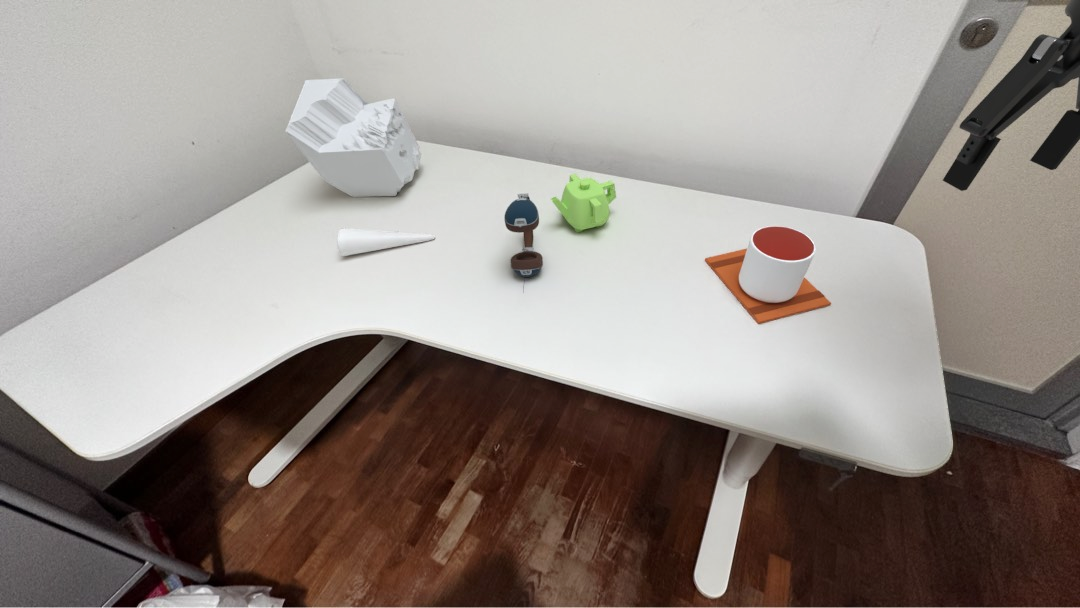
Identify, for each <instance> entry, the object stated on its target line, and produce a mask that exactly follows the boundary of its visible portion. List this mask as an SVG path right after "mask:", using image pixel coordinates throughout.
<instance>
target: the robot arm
mask: <svg viewBox="0 0 1080 608" xmlns="http://www.w3.org/2000/svg"><path fill="white" fill-rule="evenodd" d="M1064 13H1065V15H1066V16H1067V17H1068V18H1069V19H1070V24H1069V25H1068V26H1067V28H1066V29H1065V30H1064V32H1062V33H1061V35H1060V36H1059V37H1057V36H1051V35H1048V34H1044V33H1042V34H1040V35H1038V36H1037V37H1035V39H1033V41H1032V42H1031V44H1030V46H1029V47H1028V48H1027V50H1026V51H1025V53H1023V55H1022V57H1021V58H1020V60H1018V61H1017V63H1016V64H1015V65H1014V66H1013V67H1012V68H1011V69H1010V70H1009V71H1008V72H1007V73H1006V74H1005V75H1004V76H1003V78H1001V80H1000V81H999V82H997V84H996V85H995V86H994V87H993V88H992V89H991V90H990V91H989V92H988V93H987V94H986V96H984V98H983V99H982V100H981V101H980V102H979V103H978V104H977V105H976V106H975V107H974V108H973V110H972V111H971V112H970V113H969V114H968V115H967V116H966V117H965V118H964V119H963V120H962V122H961V123H960V124H959V129H961V130H963V131H965V132H967V133H969V136H968V138H967V139H966V141H965V143H964V144H963V145H962V148H961V149H960V151H959V152H958V154H957V156H956V158H955V159H954V161H953V163H952V164H951V165H950V167H949V169H948V171H947V172H946V173H945V176H944V177H943V179H942V182H944V183H946V184H948V185H950V186H951V187H953V188H955V189H957V190H959V191H961V192H963V191H967V190H968V188H969V187H970V186H971V184H972V183H973V181H974V180H975V178H976V177H977V175H978V174H979V173H980V171H981V169H982V168H983V167H984V166H985V163H987V161H988V159H989V157H990V156H991V155H992V153H993V152H994V150H995V149H996V147H997V146H998V144H999V143H1000V141H1001V140H1002V138H1000V137H998V136H999V135H1000V134H1002V132H1004V131H1005V130H1006V129H1007V128H1008V127H1010V126H1011V125H1012V124H1014V122H1016V121H1017V120H1018V119H1019V118H1021V117H1022V116H1023V115H1024V114H1025V113H1027V112H1028V111H1029V110H1030V109H1031V108H1032V107H1034V106H1035V105H1036V104H1038V103H1039V102H1040V101H1041V100H1042V99H1043V98H1044V97H1046V96H1047V95H1048V94H1049V93H1051V91H1053V90H1054V89H1059V88H1062V87H1065V86H1066V85H1067V84H1069V83H1070V82H1071V81H1072V80H1076V79H1078V83H1077V92H1076V102H1075V109H1076V110H1074V109H1067V110H1066V112H1065V113H1064V114H1063V115H1062V116H1061V118H1060V119H1059V121H1058V122H1057V123H1056V125H1055V126H1054V128H1053V129H1052V130H1051V132H1049V134H1048V135H1047V136H1046V138H1045V140H1043V142H1042V143H1041V144H1040V146H1039V147H1038V148H1037V150H1036V151H1035V153H1034V154H1033V156H1032V157H1031V158H1030V159H1029V161H1030V162H1032V163H1034V164H1036V165H1039V166H1041V167H1043V168H1045V169H1048V170H1050V171H1053V170H1057V169H1058V167H1059V166H1060V165H1061V164H1062V163H1063V162H1064V160H1065V159H1066V157H1068V155H1069V153H1071V151H1072V150H1073V149H1074V148H1075V146H1076V145H1077V144H1078V143H1079V141H1080V0H1069V2H1068V3H1067V5H1066V6H1065V8H1064Z"/></svg>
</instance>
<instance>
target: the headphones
mask: <svg viewBox="0 0 1080 608" xmlns="http://www.w3.org/2000/svg"><path fill="white" fill-rule="evenodd" d="M503 216H504V224H505V227H506V229H507V230H508V231H510V232H512V233H519V234H521V233H523V234H522V235H523V244H524V245H523V248H522V251H520V252H517V253H515V254H514V255H512V256H511V257H510V267H511V269H512V270H513V272H514V273H515V274H517V275H518V276H520V277H523V278H530V277H533V276H535V275H537V273H539V272H540V270H541V269H542V268H543V265H544V261H543V259H544V258H543V255H542V254H541V253H540V252H537V251H535V250H534V247H533V246H534V230H536V229H537V228H538V226H539V225H540V215H539V209H538V208H537V206H536V204H535V203H534V202H533V201H532V200H531V199H530V196H529V193H528V192H527V193H526V192H525V193H518V194H517V199H515V200H513V201H512V202H510V204H509V205H508V206H507V208H506V210H505V213H504V215H503ZM525 283H526V280H524V282H523V284H525ZM522 287H523V288H522V289H523V290H522V293H523V294H524V293H525V292H524V289H525V285H523V286H522Z"/></svg>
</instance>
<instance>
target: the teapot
mask: <svg viewBox="0 0 1080 608" xmlns="http://www.w3.org/2000/svg"><path fill="white" fill-rule="evenodd" d="M616 191H617V190H616V185H615V182H613V181H612V180H608V181H603V182H601V183H600V182H599V181H597V180H596V179H594V178H593V177H583V178H580V177H579V176H578V173H573V174H570V175H569V182H566V184H565V186H564V188H563V191H562V194H561V200H560V198H558V197H557V196H553V197H551V198H550V200H551V201H552V203H553V205H554V206H555V207H556V209H558V211H559V212H560V214H561V215H562V216H563V217H564V219H565V220H566V222H567V223H568V224H569V225H570V226H571V227H573V228H574V231H575V232H577V233H581V232H583V231H584V230H587V229H591V228H595V227H602V226H604V224H606V223H607V222H608V220H609V218H610V204H611V203H612V202H613V201H614V200H616V198H617V192H616Z"/></svg>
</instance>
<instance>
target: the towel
mask: <svg viewBox="0 0 1080 608" xmlns="http://www.w3.org/2000/svg"><path fill="white" fill-rule="evenodd" d="M746 251H747V248H743V249H738V250H735V251H730V252H726V253H722V254H717V255H713V256H708V257H705V258H704V261H705V263H706V264H707V266H708V267H710V268H711V270H712V271H713V272H714V273H715V274H716V276H717V277H718V278H719V279H720V280H721V281H722V284H724V285H725V286H726V288H727V289H728V290H729V291H730V292H731V293H732V295H733V296H734V297H735V298H736V299H737V301H738V302H739V303H740V304H741V305H742V307H743V308H744V309H745V310H746V312H748V313H749V315H750V316H751V317H752V319H754V321H755V322H756V323H757V324H758V325H761V324H764V323H769V322H772V321H776V320H781V319H783V318H787V317H791V316H795V315H798V314H802V313H806V312H810V311H814V310H818V309H822V308H826V307H829V306H831V304H832V302H831V301H830V300H829V299H828V298H827V297H826V296H825V295H824V293H822V292H821V291H820V290H819V289H817V288H816V287H815V286H814V284H812V283H811V282H810V281H809V280H808V279H807V278H805V277H806V276H805V277H804V279H803V281H802V283H801V285H800V288H799V290H798V292H797V293H796V295H795V296H794V297H793V298H791V299H789V300H787V301H784V302H779V303H769V302H764V301H760V300H757V299H755V298H753V297H751V296H750V295H748V294H747V293H746V292H745V291H744V290H743V289H742V287H741V286H740V283H739V273H740V270H741V267H742V264H743V261H744V257H745V254H746Z"/></svg>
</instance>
